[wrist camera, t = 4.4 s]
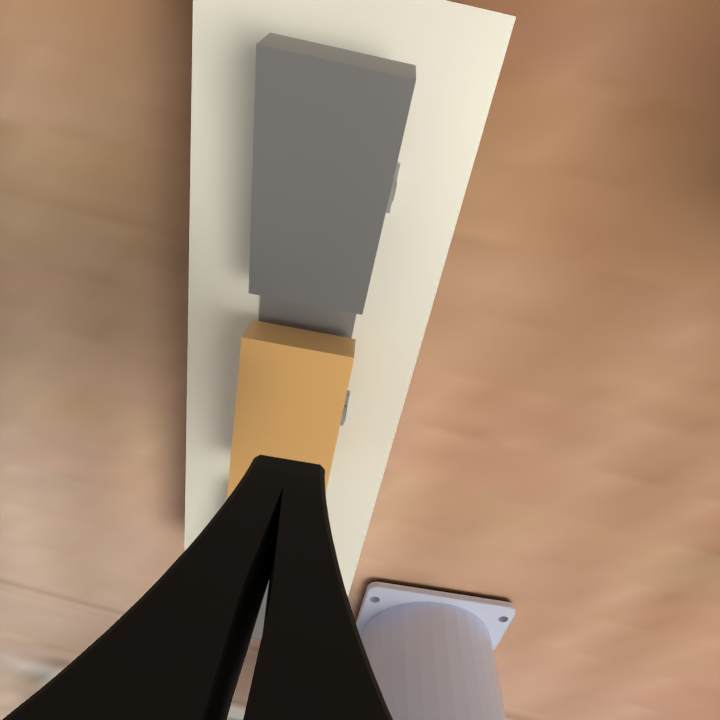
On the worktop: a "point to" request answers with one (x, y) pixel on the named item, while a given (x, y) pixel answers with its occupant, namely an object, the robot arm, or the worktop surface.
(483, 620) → the robot arm
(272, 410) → the rocker middle
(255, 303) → the rocker switch panel
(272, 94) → the block
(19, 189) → the worktop surface
